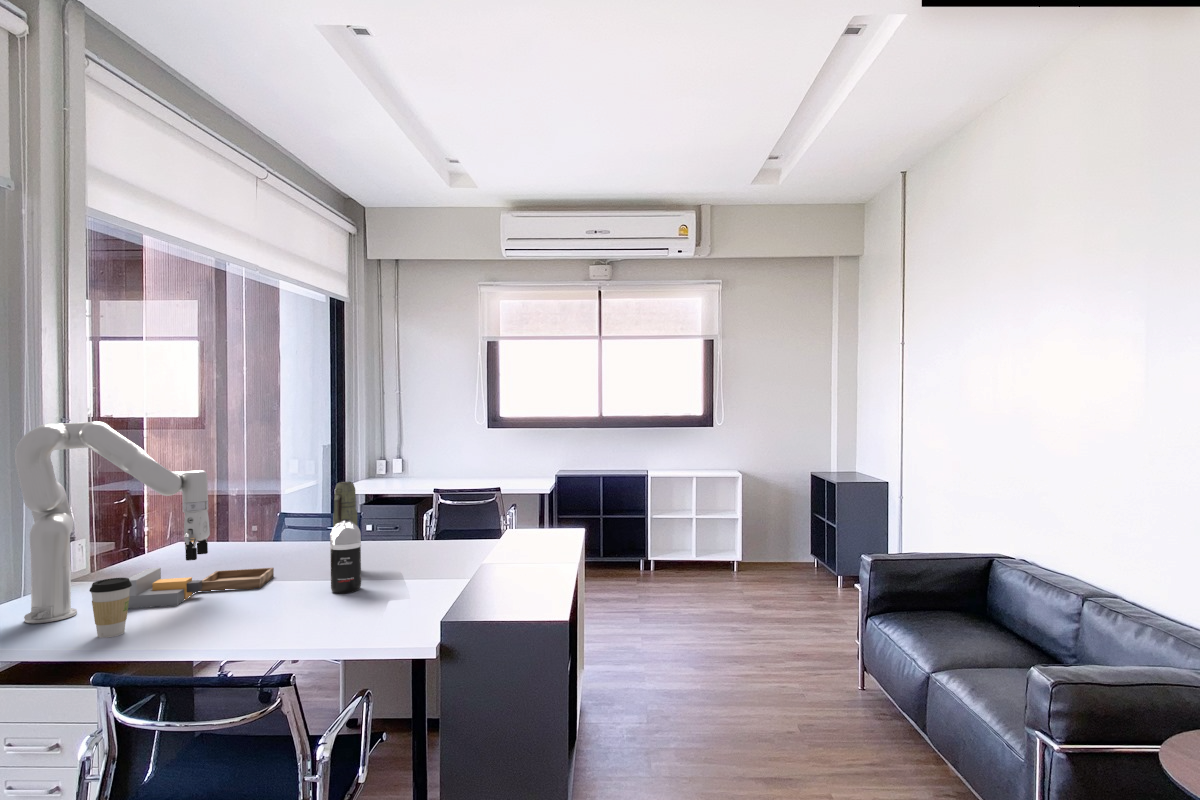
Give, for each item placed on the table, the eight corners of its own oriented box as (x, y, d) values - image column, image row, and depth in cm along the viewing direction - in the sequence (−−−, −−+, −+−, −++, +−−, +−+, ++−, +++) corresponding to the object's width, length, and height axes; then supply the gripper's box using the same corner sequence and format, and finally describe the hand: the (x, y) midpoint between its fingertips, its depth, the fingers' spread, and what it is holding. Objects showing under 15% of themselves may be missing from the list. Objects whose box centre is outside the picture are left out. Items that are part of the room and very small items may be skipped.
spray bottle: (330, 588, 239) (329, 517, 239) (361, 585, 242) (360, 515, 243) (330, 595, 229) (329, 521, 230) (362, 592, 233) (361, 519, 233)
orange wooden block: (197, 599, 227) (196, 580, 228) (152, 602, 225) (152, 583, 225) (203, 595, 233) (203, 576, 233) (159, 598, 230) (159, 579, 230)
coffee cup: (140, 628, 197) (139, 576, 197) (117, 639, 187) (116, 585, 187) (105, 629, 197) (105, 577, 197) (80, 640, 187) (80, 586, 187)
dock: (177, 605, 221) (177, 577, 221) (122, 608, 217) (122, 580, 218) (198, 591, 238) (198, 565, 238) (148, 594, 235) (148, 568, 235)
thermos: (327, 575, 259) (326, 483, 259) (342, 568, 271) (341, 480, 271) (348, 575, 258) (347, 483, 258) (363, 568, 269) (362, 480, 270)
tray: (259, 588, 240) (259, 578, 240) (198, 592, 236) (197, 582, 236) (273, 576, 258) (273, 567, 258) (216, 580, 254) (216, 570, 254)
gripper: (197, 509, 223) (199, 561, 223) (216, 502, 240) (218, 550, 240) (172, 511, 221) (174, 563, 221) (193, 504, 238) (194, 552, 238)
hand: (197, 556), depth 230 cm, fingers open, 9 cm apart
